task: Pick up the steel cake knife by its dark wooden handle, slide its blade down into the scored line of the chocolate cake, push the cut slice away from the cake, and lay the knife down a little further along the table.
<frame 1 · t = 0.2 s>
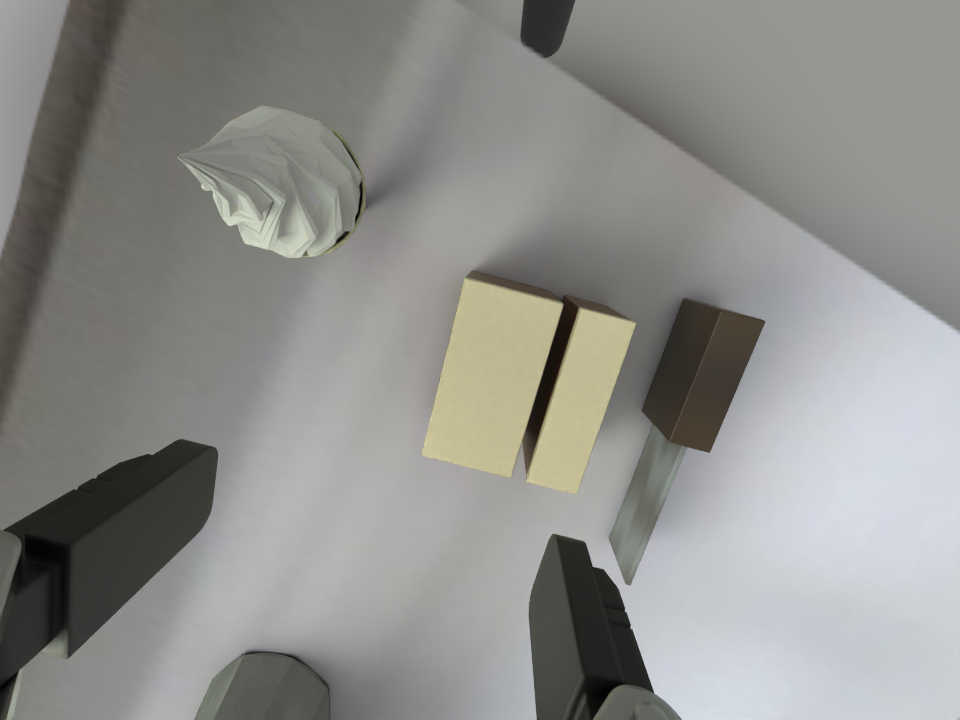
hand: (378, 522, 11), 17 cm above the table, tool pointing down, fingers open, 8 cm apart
cake slice: (563, 373, 27), on the table
cake: (491, 355, 27), on the table
knife: (653, 430, 27), on the table
ice cream cone: (363, 206, 25), on the table
coffeepot: (270, 705, 35), on the table
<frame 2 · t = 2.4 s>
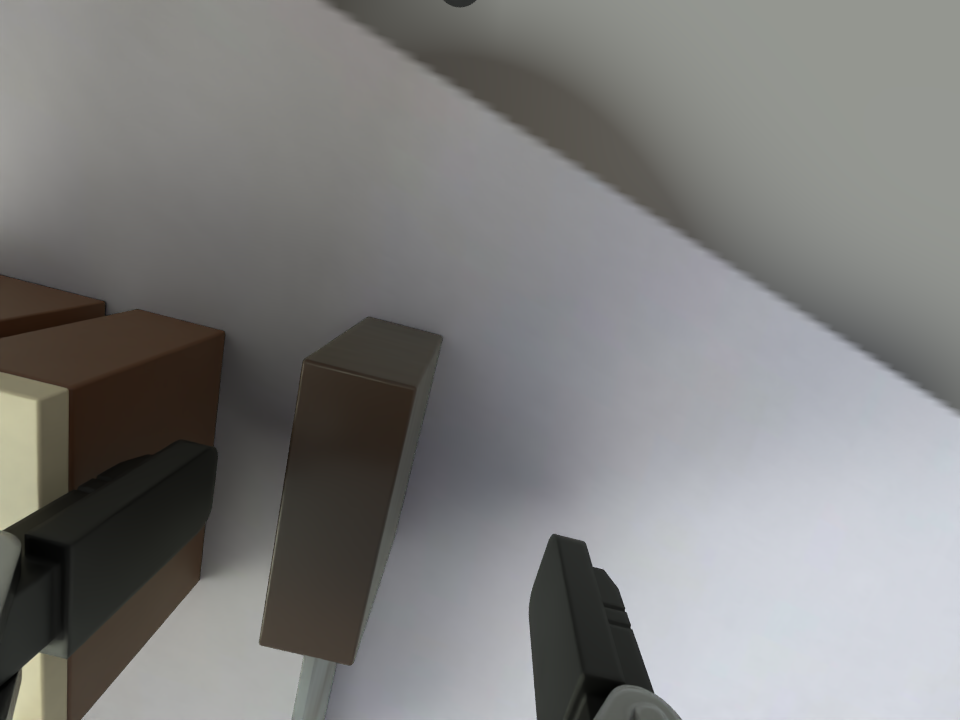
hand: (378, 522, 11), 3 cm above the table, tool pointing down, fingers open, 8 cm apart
cake slice: (171, 456, 14), on the table, touching gripper
cake: (27, 423, 14), on the table
knife: (355, 556, 15), on the table
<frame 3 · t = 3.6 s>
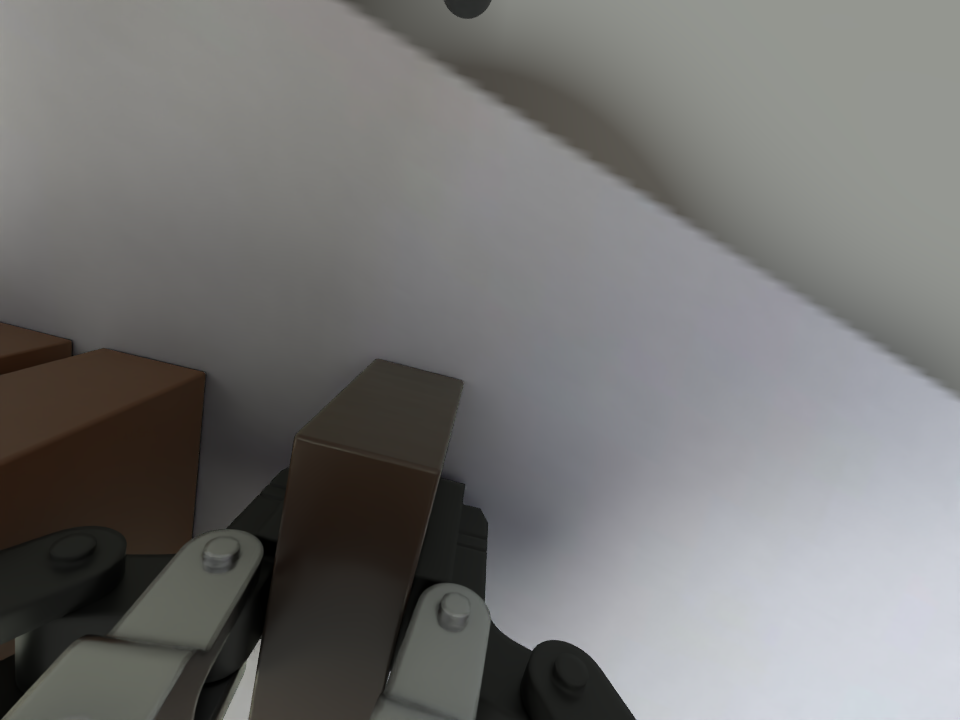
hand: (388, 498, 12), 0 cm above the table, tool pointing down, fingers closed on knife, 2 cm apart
cake slice: (147, 515, 12), on the table
knife: (359, 629, 13), on the table, touching gripper
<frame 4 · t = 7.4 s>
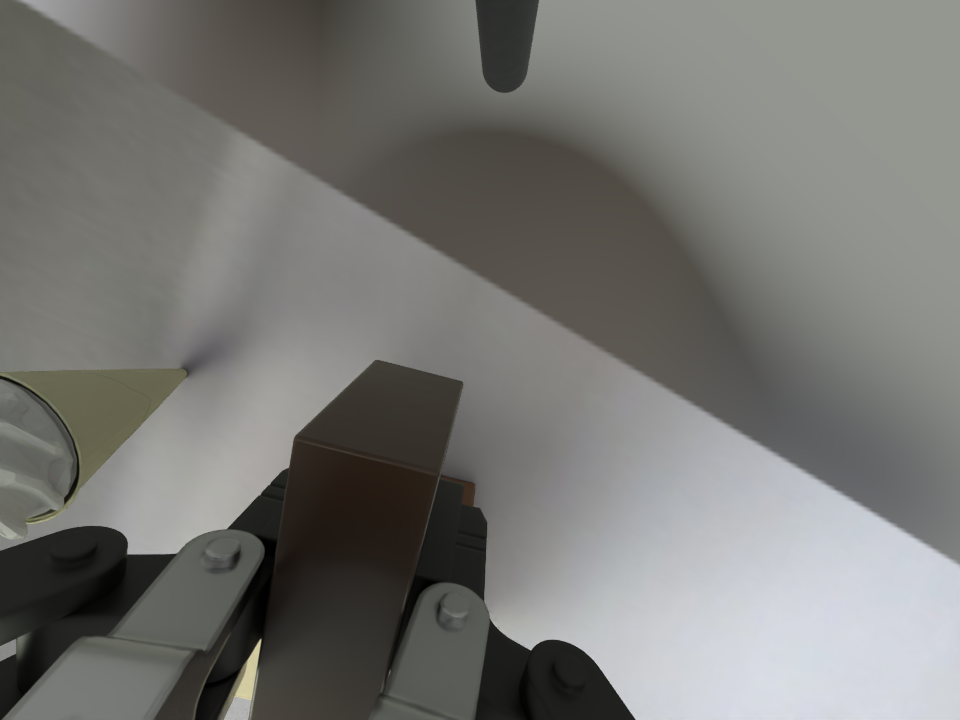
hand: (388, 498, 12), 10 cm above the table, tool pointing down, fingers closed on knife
cake slice: (430, 554, 23), on the table
cake: (346, 533, 23), on the table
knife: (359, 630, 13), point 9 cm above the table, touching gripper
ice cream cone: (185, 372, 21), on the table
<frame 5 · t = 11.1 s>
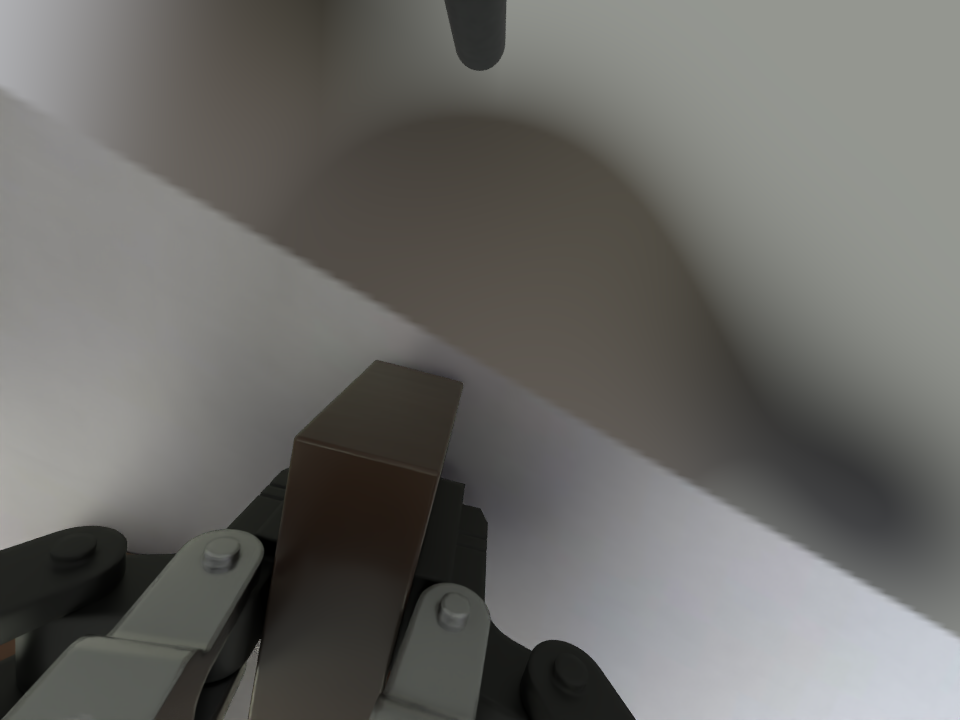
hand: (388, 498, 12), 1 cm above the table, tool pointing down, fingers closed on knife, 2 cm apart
knife: (359, 630, 13), point 1 cm above the table, touching cake slice, gripper
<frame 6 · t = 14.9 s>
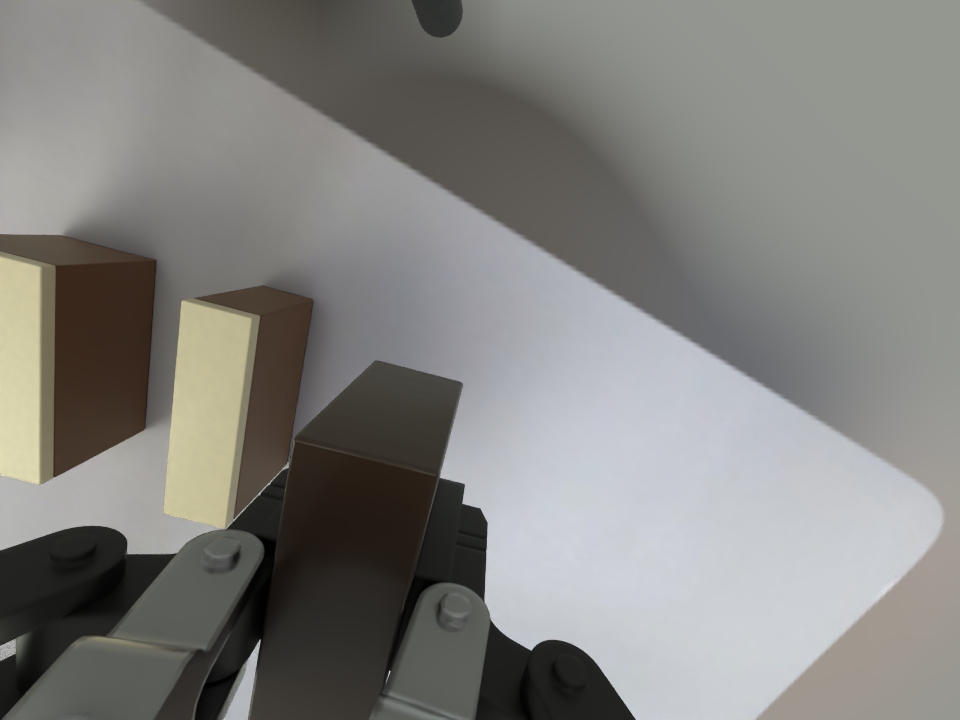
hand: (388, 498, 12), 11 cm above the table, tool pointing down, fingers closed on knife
cake slice: (274, 379, 23), on the table
cake: (104, 337, 23), on the table
knife: (359, 631, 13), point 11 cm above the table, touching gripper
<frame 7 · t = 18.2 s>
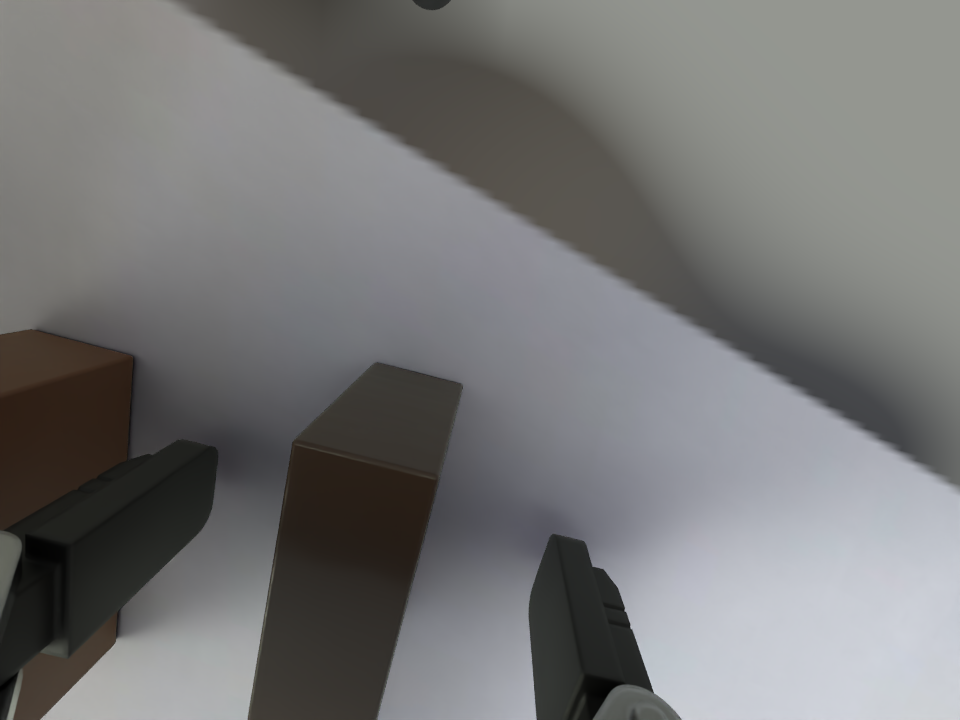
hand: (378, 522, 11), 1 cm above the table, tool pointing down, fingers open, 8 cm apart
cake slice: (78, 500, 12), on the table, touching gripper
knife: (358, 633, 13), on the table
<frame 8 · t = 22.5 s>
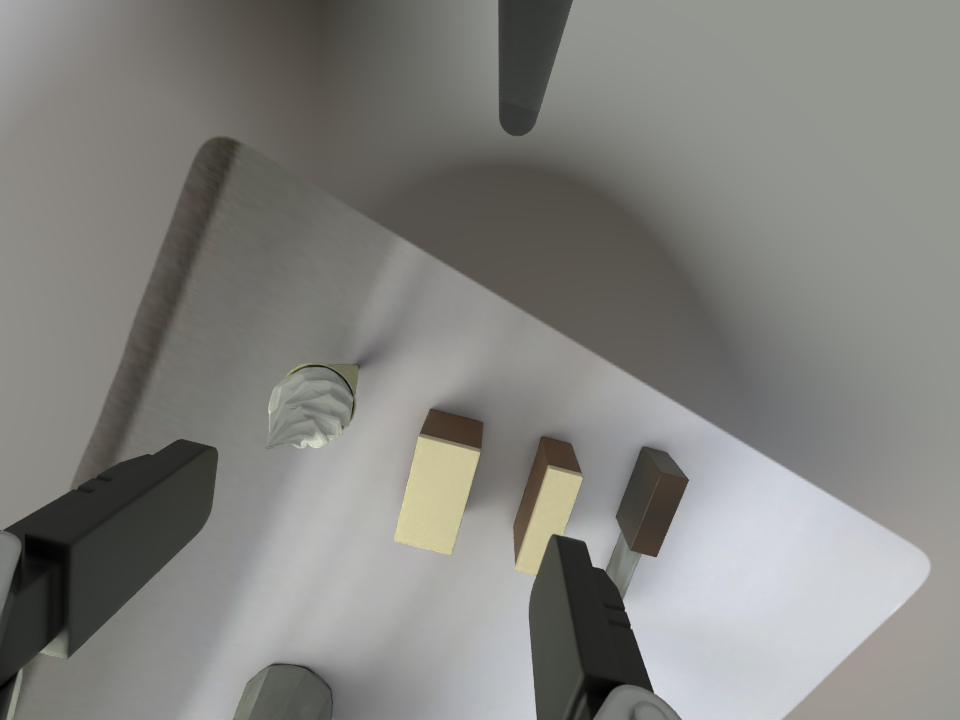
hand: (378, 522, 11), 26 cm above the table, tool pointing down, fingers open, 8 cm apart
cake slice: (541, 486, 39), on the table
cake: (444, 462, 39), on the table
knife: (623, 529, 40), on the table
ice cream cone: (356, 366, 37), on the table
coffeepot: (288, 703, 47), on the table
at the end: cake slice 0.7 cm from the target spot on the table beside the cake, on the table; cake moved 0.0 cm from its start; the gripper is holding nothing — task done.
